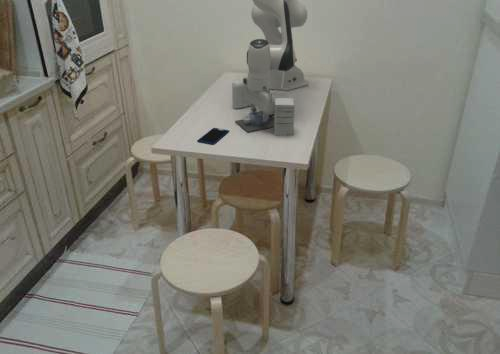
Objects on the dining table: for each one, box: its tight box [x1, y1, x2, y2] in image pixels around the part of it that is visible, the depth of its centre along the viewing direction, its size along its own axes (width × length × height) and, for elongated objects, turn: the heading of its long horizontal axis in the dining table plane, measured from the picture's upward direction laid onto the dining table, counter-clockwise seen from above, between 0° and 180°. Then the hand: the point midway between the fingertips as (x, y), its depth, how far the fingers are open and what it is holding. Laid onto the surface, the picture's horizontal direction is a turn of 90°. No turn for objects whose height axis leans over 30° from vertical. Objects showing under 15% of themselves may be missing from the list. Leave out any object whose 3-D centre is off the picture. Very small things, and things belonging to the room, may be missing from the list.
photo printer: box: [231, 78, 250, 110], centre depth 207 cm, size 10×4×12 cm, turn 123°
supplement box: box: [273, 97, 295, 136], centre depth 182 cm, size 7×7×13 cm
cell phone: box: [196, 127, 230, 146], centre depth 182 cm, size 7×14×1 cm, turn 156°
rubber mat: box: [234, 116, 274, 134], centre depth 192 cm, size 16×12×1 cm
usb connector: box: [243, 110, 274, 125], centre depth 191 cm, size 14×4×4 cm, turn 116°
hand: (259, 116), depth 191 cm, fingers open, 8 cm apart
